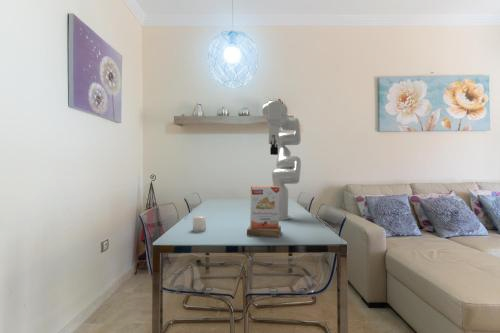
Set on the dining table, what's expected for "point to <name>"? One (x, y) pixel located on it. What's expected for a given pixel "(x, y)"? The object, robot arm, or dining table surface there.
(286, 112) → the robot arm
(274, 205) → the cracker box
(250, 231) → the plinth
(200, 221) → the white small block
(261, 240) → the dining table surface
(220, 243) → the dining table surface
